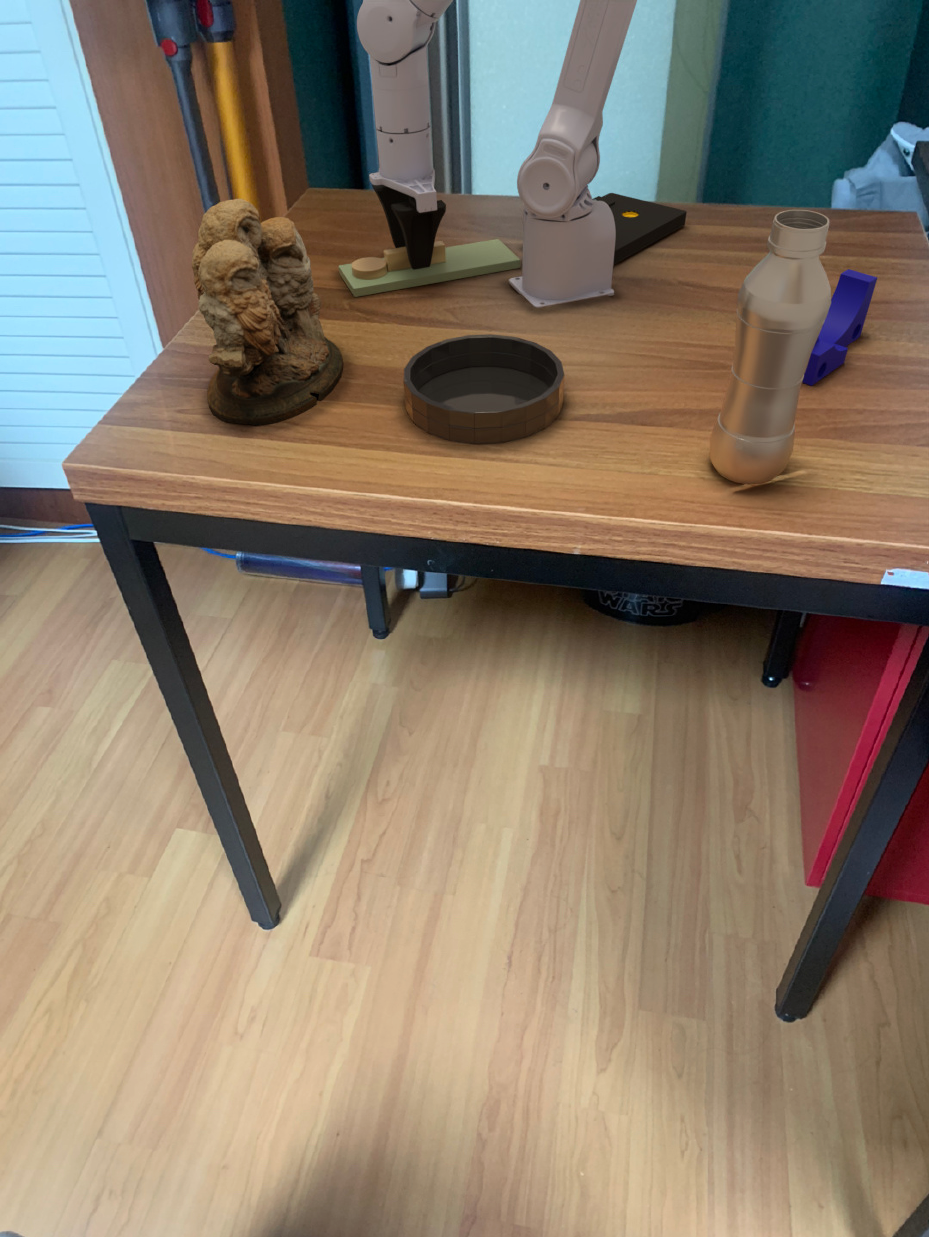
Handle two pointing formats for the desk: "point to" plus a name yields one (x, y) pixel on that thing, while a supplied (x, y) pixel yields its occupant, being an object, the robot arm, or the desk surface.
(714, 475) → the desk surface
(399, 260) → the wooden paddle
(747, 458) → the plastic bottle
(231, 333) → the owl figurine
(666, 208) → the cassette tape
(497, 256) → the board
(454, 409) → the pan
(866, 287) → the blue curved bracket
